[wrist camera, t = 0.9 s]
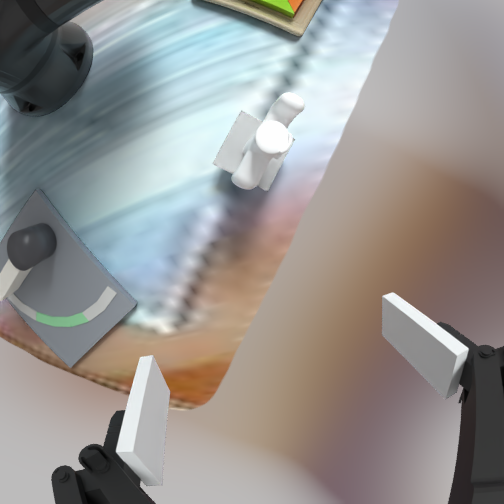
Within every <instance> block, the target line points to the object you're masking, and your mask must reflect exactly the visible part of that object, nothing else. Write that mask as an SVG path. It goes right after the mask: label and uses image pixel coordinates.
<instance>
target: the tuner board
mask: <svg viewBox="0 0 504 504" xmlns="http://www.w3.org/2000/svg"><path fill="white" fill-rule="evenodd" d="M39 223H45V224H47V225H49V226H50V227H51V228H52V230H53V231H54V233H55V236H56V249H55V252H54V253H53V254H52V256H50V257H48V258H47V259H45V260H43V261H42V262H40V263H38V264H37V265H35V266H33V268H32V269H31V271H30V272H29V273H28V275H27V276H26V278H25V279H24V281H23V282H22V284H21V285H20V287H19V288H18V290H16V291H15V292H13V293H12V294H11V295H9V296H8V297H7V298H6V299H7V300H8V301H9V303H10V304H11V305H12V306H13V308H14V309H15V310H16V311H17V312H18V314H19V315H20V316H21V317H22V318H23V320H24V321H25V322H26V323H27V324H28V325H29V326H30V327H31V329H32V330H33V331H34V332H35V333H36V334H37V335H38V336H39V337H40V338H41V339H42V340H43V341H44V343H45V344H46V345H47V346H48V347H49V348H50V349H51V350H52V351H53V352H54V353H55V354H56V355H57V356H58V357H59V358H60V359H61V360H63V361H64V362H65V363H66V364H67V365H68V366H69V367H70V368H71V367H72V366H73V365H74V364H75V363H76V362H77V361H78V360H79V359H80V358H81V357H82V356H83V355H84V354H85V353H86V352H87V351H88V350H89V349H90V348H91V347H92V346H93V345H95V344H96V343H97V342H98V341H99V340H100V339H101V338H102V337H103V336H104V335H105V334H106V333H107V332H108V331H109V330H110V329H111V328H112V327H113V326H114V325H116V324H117V323H118V322H119V321H120V320H121V319H122V318H123V317H124V316H125V315H126V314H127V313H128V312H129V311H131V310H132V309H133V308H134V307H135V305H136V304H137V301H136V300H135V299H134V298H133V297H132V296H131V295H130V294H129V293H128V292H127V291H126V290H125V289H124V288H123V287H122V286H121V285H120V284H119V283H118V282H117V281H116V280H115V278H114V277H113V276H112V275H111V274H110V273H109V272H108V271H107V270H106V269H105V268H104V266H103V265H102V264H101V263H100V262H99V261H98V260H97V259H96V258H95V256H94V255H93V254H92V253H91V252H90V251H89V249H88V248H87V247H86V246H85V245H84V244H83V242H82V241H81V240H80V239H79V238H78V237H77V235H76V234H75V233H74V232H73V230H72V229H71V228H70V227H69V226H68V224H67V223H66V222H65V221H64V219H63V218H62V217H61V215H60V214H59V213H58V212H57V210H56V209H55V208H54V206H53V205H52V204H51V202H50V201H49V200H48V198H47V197H46V196H45V194H44V193H43V192H42V190H41V189H38V190H35V191H34V193H33V194H32V195H31V197H30V198H29V200H28V201H27V202H26V204H25V205H24V207H23V208H22V210H21V211H20V213H19V214H18V216H17V217H16V219H15V220H14V222H13V223H12V225H11V226H10V228H9V230H8V231H7V233H6V235H5V236H4V238H3V239H2V241H1V243H0V273H1V271H2V269H3V268H4V266H5V264H6V263H7V261H8V259H9V257H8V253H7V242H8V239H9V237H10V235H11V234H12V233H14V232H16V231H18V230H21V229H24V228H27V227H30V226H33V225H36V224H39Z"/></svg>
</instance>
